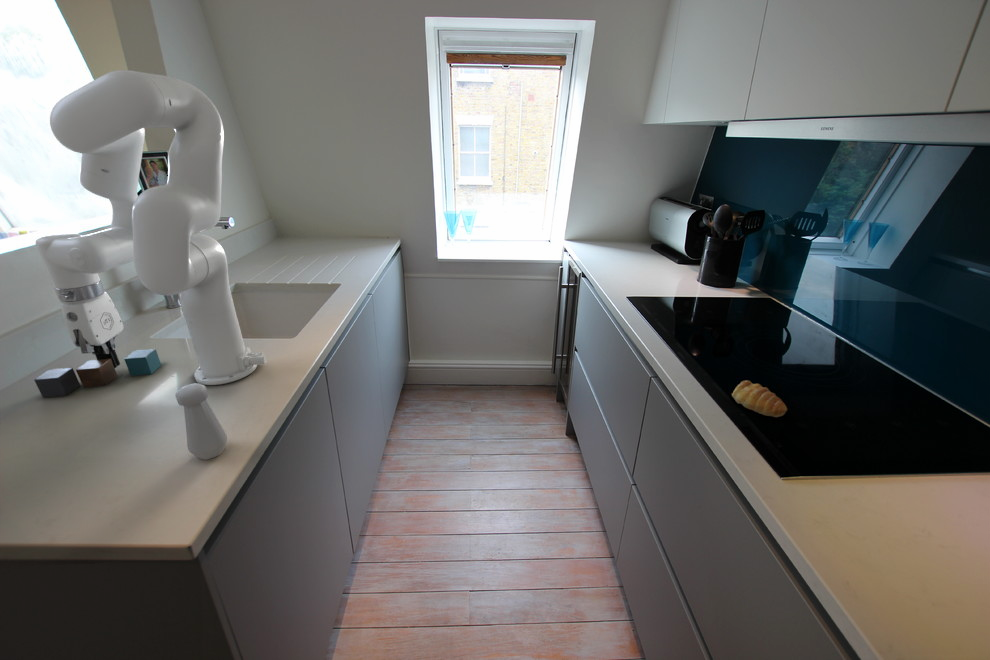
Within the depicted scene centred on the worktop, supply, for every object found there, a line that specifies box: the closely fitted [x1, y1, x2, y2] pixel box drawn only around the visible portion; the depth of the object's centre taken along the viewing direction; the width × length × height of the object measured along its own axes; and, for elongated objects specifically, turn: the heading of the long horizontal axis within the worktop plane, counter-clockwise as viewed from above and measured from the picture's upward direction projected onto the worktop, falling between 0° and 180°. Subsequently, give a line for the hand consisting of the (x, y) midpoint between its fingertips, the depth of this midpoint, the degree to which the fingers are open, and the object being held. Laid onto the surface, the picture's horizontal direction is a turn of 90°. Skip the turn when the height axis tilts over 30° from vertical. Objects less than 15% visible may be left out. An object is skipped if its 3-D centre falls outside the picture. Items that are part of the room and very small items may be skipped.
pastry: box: [731, 380, 788, 418], centre depth 88 cm, size 9×7×4 cm
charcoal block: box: [34, 367, 81, 399], centre depth 94 cm, size 4×4×4 cm
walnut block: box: [75, 359, 119, 388], centre depth 98 cm, size 4×4×4 cm
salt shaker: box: [175, 382, 228, 461], centre depth 74 cm, size 6×6×13 cm
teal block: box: [123, 348, 162, 377], centre depth 103 cm, size 4×4×4 cm
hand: (110, 366), depth 102 cm, fingers closed
